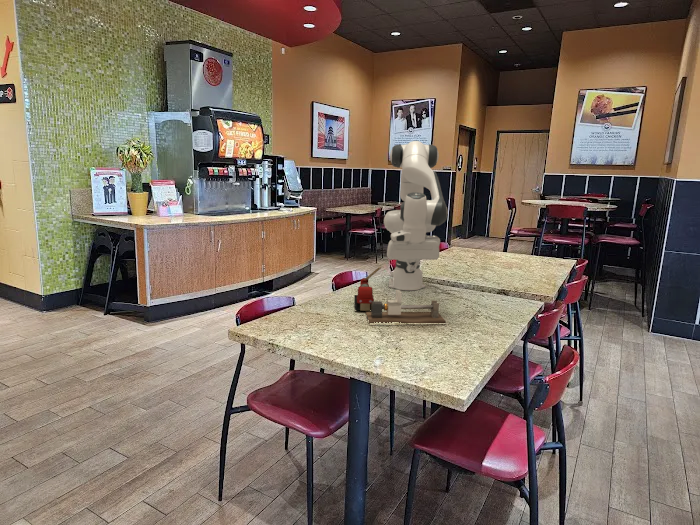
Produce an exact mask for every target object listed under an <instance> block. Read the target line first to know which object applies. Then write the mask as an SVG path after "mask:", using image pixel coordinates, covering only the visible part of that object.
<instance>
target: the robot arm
mask: <svg viewBox="0 0 700 525" xmlns="http://www.w3.org/2000/svg"><path fill="white" fill-rule="evenodd" d="M439 154H440V153H439V150H438V148H437V146H436V145H434V144H425V143H423V142H421V141H420V140H412V141H410V142H408V143H406V144H400V143H398V144H396V145H394V146H392V148H391V150H390V153H389V160H390V162H391V165H392V166H393V168H398V169H399V168H401V175H400V189H399V195H400V196H399V197H400V199H401V200H402V201H403V202H402V203H401V204H400V205H399V206H400V209H395V210H389V211H387V212H386V214H385V215H384V217H383V225H384V227H385V229H386V230H387V231H389V233H390V240H389V242H388V245H387V249H386V257H387V258H388V259H389V260H391V261H392V260H395V268H394V269H393V271H391V272H390V273H389V275H390V277H391V278H389V279H388V286H387V287H388V288H391V289H395V290H400V291H417V290H420V289H422V288H423V289H424V288H426V285H425V284H424V283H423V270H422V269H420V268H421V261H422V260H425V261H426V260H433V261H434V260H436V261H437V260H438V259H439V258H440V244H441V239H440V237H438V236H437V235H427V233H432V232H433V231H434V230H435V229H436V227H439V226H441V225H443V224H444V223H445V222H446V221H447V219H448V207H447V204H446V201H445V199H444V196H443V192H442V188H441V183H440V180H439V177H438V174H437V172H436V171H435V170H433V169H432V168H435V167H436V165H437V163H438V161H439V158H440V155H439ZM424 188H426V189H428V190H429V191H430V196H431V199H430V200H429V199H427V196H426V194H424Z"/></svg>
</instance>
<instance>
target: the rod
mask: <svg viewBox="0 0 700 525" xmlns="http://www.w3.org/2000/svg"><path fill="white" fill-rule="evenodd" d="M387 309H388V305H387V303H383V302H382V301H379V300H378V301H375V300H374V301H371V311H370V312H371V317H372V318H382V312H387ZM431 309H433V305H431V304H401V310H431Z"/></svg>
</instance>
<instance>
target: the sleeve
mask: <svg viewBox="0 0 700 525" xmlns="http://www.w3.org/2000/svg"><path fill="white" fill-rule="evenodd" d="M402 293H403V292H402V290H400V289H395V299H386V304H387V305H388V309H387V311H386V312H388V315H401V312H402V309H401V305H402V298H403V297H402V296H403V294H402Z"/></svg>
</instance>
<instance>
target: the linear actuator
mask: <svg viewBox="0 0 700 525" xmlns="http://www.w3.org/2000/svg"><path fill="white" fill-rule="evenodd" d="M430 305H433V309H430V311H401V315H388V312H387V311H382V318H372V317H371V311H365V316H366V315H367V317H368V320H369V323H374V322H375V323H376V322H378V323H379V322H381V323H383V322H385V323H387V322H388V323H389V322H391V323H392V322H399V323H400V322H401V323H446V324H447V321H446V320H445V318H444V317H443V316H442V315H441V314H440V313H439V312H440V303H439V302H438V301H437V300H431V303H430ZM367 317H366V318H367ZM368 320H367V321H368ZM369 323H368V324H369Z"/></svg>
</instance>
